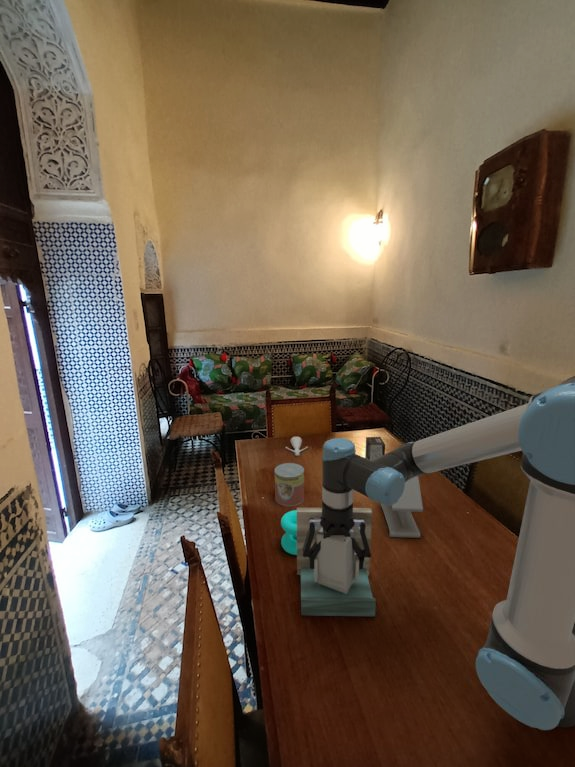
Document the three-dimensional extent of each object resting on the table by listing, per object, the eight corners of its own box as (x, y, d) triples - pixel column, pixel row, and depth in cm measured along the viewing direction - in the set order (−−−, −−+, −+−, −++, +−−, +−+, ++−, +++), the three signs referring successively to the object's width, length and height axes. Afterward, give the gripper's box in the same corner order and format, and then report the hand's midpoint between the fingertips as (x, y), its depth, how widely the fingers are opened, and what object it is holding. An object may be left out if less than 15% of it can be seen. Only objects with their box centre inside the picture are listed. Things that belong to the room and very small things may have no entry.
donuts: (274, 520, 108) (292, 504, 116) (274, 548, 111) (292, 531, 119) (302, 532, 103) (319, 514, 111) (302, 561, 105) (319, 542, 113)
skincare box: (354, 579, 93) (356, 530, 90) (346, 596, 88) (348, 544, 85) (325, 568, 97) (325, 520, 94) (315, 583, 92) (315, 533, 89)
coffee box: (383, 480, 150) (385, 445, 146) (368, 480, 150) (370, 445, 146) (378, 470, 159) (380, 436, 155) (364, 470, 159) (365, 436, 155)
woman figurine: (306, 434, 189) (309, 450, 172) (306, 441, 191) (309, 459, 174) (285, 434, 189) (285, 451, 172) (285, 442, 191) (285, 459, 174)
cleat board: (379, 616, 87) (383, 545, 82) (297, 615, 88) (296, 545, 83) (367, 570, 102) (370, 508, 97) (297, 569, 102) (296, 507, 97)
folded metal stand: (420, 539, 114) (425, 482, 109) (390, 538, 115) (393, 482, 110) (406, 506, 132) (409, 456, 127) (380, 505, 133) (382, 455, 128)
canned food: (270, 503, 135) (270, 474, 132) (280, 488, 145) (279, 461, 142) (299, 508, 131) (299, 479, 128) (307, 492, 142) (307, 465, 139)
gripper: (380, 492, 90) (376, 567, 96) (291, 492, 91) (292, 566, 96) (387, 510, 83) (382, 590, 88) (291, 509, 84) (292, 589, 89)
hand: (335, 578), depth 92 cm, fingers closed on skincare box, 10 cm apart
